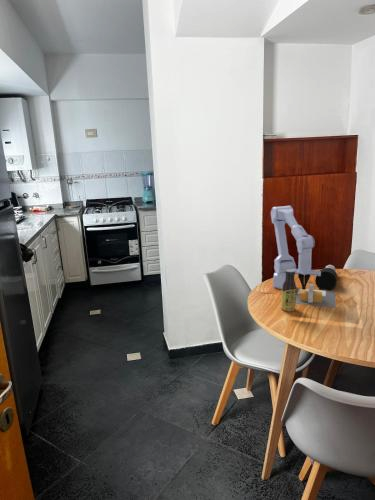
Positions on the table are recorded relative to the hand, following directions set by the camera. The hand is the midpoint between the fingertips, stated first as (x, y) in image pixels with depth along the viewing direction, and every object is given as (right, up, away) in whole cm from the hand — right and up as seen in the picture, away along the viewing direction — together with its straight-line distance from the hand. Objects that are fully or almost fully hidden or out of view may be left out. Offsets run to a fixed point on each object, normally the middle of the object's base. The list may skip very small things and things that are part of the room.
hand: (303, 288), depth 176 cm
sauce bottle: (-10, -10, -8) cm, 16 cm away
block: (+3, -5, 0) cm, 6 cm away
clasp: (+3, -5, 0) cm, 6 cm away
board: (+7, -6, +3) cm, 10 cm away
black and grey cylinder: (+22, +1, +28) cm, 35 cm away
